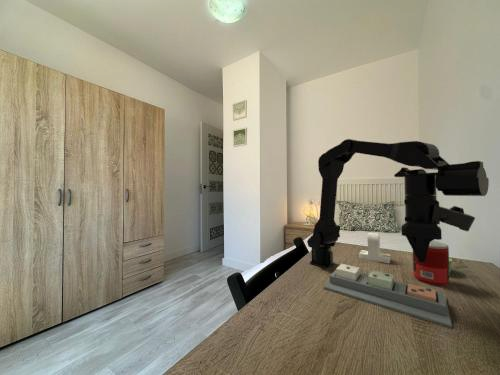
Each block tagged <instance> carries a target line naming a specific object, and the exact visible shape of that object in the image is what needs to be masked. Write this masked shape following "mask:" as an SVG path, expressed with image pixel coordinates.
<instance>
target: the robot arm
mask: <svg viewBox="0 0 500 375" xmlns="http://www.w3.org/2000/svg"><path fill="white" fill-rule="evenodd" d="M355 154H360V155H361V154H362V155H367V156H368V155H369V156H375V157H381V158H385V159H389V160H391V161H393V162H396V163H400V164H402V165H404V166H408V167H416V168H417V167H418V168H420V169H409V168H408V167H401V169H399V171H397V172H396V173H394V174H393V175H394V178H404V179H403V180H404V201H403V202H404V206H405V207H404V211H405V214H404V215H405V216H404V223H403V224H402V225H401V236H403V237H405V238H406V239H407V241H408V244H409V245H410V247H411V249H412V252H413V251H414V253H415V255H416V257H417V259H418V261H419V262H423V263H424V262H425V260H426V256H427V252H428V248H429V244H430V242H431V241H437V240H438V241H439V240H442V238H443V236H442V229H441V227H440V226H439V225H440V224H441V223H444V224H446V225H450V226H453V227H456V228H458V229H459V230H461V231H464V232H469V231H470V229H471V227H472V226H473V224H474V221H475V219H476V217H475V216H474V215H471V214H468V213H465V211H464V208H463V207H459V206H455V205H453V206H452V207H449V208H447V207H443V206H440V201H439V200H438V199H437V198H438V196H437V192H441V193H442V194H443V195H444V196H447V197H449V196H450V197H452V196H454V197H456V196H457V197H458V196H459V197H485V196H486V195H487V194H488V191H489V185H490V184H489V182H490V181H489V180H490V179H489V177H487V173H486V172H487V171H486V169H485V168H484V162H483V161H480V160H474V161H468V162H464V163H453V164H450V162H448V161H446V160H445V159H444V158H443V157H442V156H441V155H440V150H439V148H438V146H436V145H434V144H432V143H427V142H422V141H418V140H413V141H399V142H394V143H387V142H386V143H385V142H375V141H365V140H364V141H363V140H356V139H352V138H351V139H350V138H347V139H344V140H343V141H342V142H340V143H339V144H337V145H336V146H334V147H333V146H332V148H330V149H327V151H325V152H323V153H322V154H321V155H320V156H319V157H318V161H317V163H318V172H319V174H320V176H321V179H322V180H321V181H322V182H321V194H320V209H319V218H318V220H317V222H316V223H315V225H314V227H313V232H312V235H310V237H309V238H308V239H307V240H306V242H307V246H308V247H309V248H311V261H309V264H310V265H314V266H318V267H322V268H329V267H330V266H332V265H333V264H334V252H333V250H332V247H335V245H336V242H337V241H339V238H340V237H341V234H340V230H341V226H340V225H337V222H336V221H335V214H336V202H337V190H338V181H339V180H338V179H339V178H340V176H341V175H342V173H343V171H344V168H345V167H344V166H345V164H347V163H348V162H349V161H350V160H352V158H353V156H354V155H355ZM426 170H433V171H436V172H427V171H426Z"/></svg>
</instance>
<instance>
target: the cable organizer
mask: <svg viewBox="0 0 500 375" xmlns="http://www.w3.org/2000/svg"><path fill="white" fill-rule="evenodd" d="M380 239H381V236H380V233H376V232H368V233H367V250H362V249H361V250H360V251H359V254H358V255H359V256H358V257H359V259H363V260H367V261H373V262H380V263H385V264H391V254H387V253H382V252H381V244H380V242H381V241H380Z"/></svg>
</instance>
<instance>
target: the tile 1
mask: <svg viewBox="0 0 500 375" xmlns="http://www.w3.org/2000/svg"><path fill="white" fill-rule="evenodd" d="M335 270H336V276H337V277H341V278H345V279H349V280H352V281H357V279H358V278H359V276H360V273H361V269H360V266H359V267H358V266H353V265H351V264H350V265H348V264H344V263H340V265H338V266H337V267H336V269H335Z"/></svg>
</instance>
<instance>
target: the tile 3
mask: <svg viewBox="0 0 500 375" xmlns="http://www.w3.org/2000/svg"><path fill="white" fill-rule="evenodd" d="M407 284H408V289H407V295H410V296H414V297H418V298H422V299H425V300H429V301H433V302H436V293H435V291H436V289H433V288H429V287H425V286H419V285H416V284H412V283H407Z"/></svg>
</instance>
